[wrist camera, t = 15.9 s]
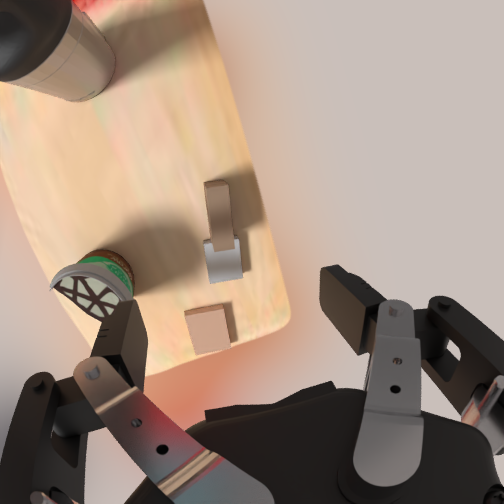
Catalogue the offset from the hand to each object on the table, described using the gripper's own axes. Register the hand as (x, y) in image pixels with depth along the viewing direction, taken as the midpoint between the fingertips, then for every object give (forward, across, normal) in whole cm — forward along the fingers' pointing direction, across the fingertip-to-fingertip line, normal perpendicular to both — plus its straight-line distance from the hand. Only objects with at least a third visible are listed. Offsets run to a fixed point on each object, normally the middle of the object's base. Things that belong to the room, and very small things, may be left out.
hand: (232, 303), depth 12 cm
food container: (+28, +14, +8) cm, 33 cm away
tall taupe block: (+28, -2, +6) cm, 29 cm away
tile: (+28, +2, +17) cm, 33 cm away
